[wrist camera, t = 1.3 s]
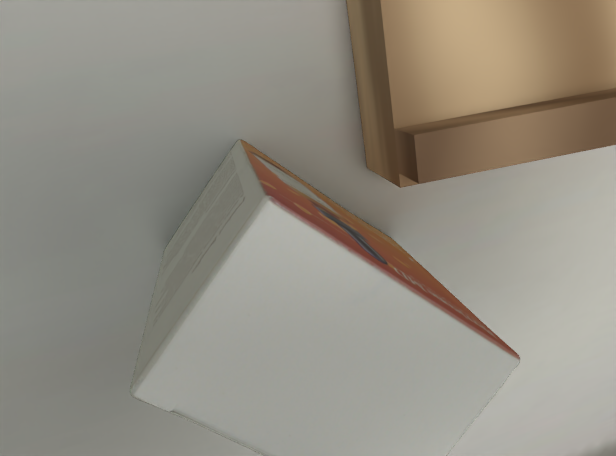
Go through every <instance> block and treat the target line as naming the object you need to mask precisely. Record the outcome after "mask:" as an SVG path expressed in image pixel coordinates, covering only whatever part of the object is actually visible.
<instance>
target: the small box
mask: <svg viewBox="0 0 616 456" xmlns="http://www.w3.org/2000/svg"><path fill="white" fill-rule="evenodd" d="M519 363H520V357H519V355H518V354H517V353H516V352H515V351H514V350H512V349H511V348H510V347H509V346H508V345H507V344H506V343H505V342H503V341H502V340H501V339H500V338H499V337H498V336H497V335H496V334H495V333H493V332H492V331H491V330H490V329H489V328H488V327H487V326H486V325H485V324H484V323H483V322H481V321H480V320H479V319H478V318H477V317H476V316H475V315H474V314H473V313H472V312H471V311H470V310H469V309H468V308H466V307H465V306H464V305H463V304H462V303H461V302H460V301H459V300H458V299H457V298H456V297H455V296H454V295H452V294H451V293H450V292H449V291H448V290H447V289H446V288H445V287H444V286H443V285H442V284H441V283H440V282H439V281H437V280H436V279H435V278H434V277H433V276H432V275H431V274H430V273H429V272H428V271H427V270H426V269H424V268H423V267H422V266H421V265H420V264H419V263H418V262H417V261H416V260H415V259H414V258H413V257H412V256H410V255H409V254H408V253H407V252H406V251H405V250H404V249H403V248H402V247H401V246H399V245H398V244H397V243H396V242H395V241H394V240H393V239H391V238H390V237H388V236H387V235H385V234H384V233H382V232H380V231H379V230H377V229H376V228H374V227H372V226H371V225H369V224H367V223H366V222H364V221H363V220H361V219H359V218H358V217H356V216H355V215H353V214H352V213H350V212H349V211H347V210H346V209H344V208H343V207H341V206H340V205H338V204H337V203H335V202H334V201H332V200H331V199H329V198H328V197H326V196H325V195H323V194H322V193H320V192H319V191H318V190H316V189H315V188H313V187H312V186H310V185H309V184H307V183H306V182H304V181H303V180H301V179H300V178H299V177H297V176H296V175H294V174H293V173H291V172H290V171H288V170H287V169H285V168H284V167H282V166H281V165H279V164H278V163H276V162H275V161H273V160H272V159H270V158H269V157H267V156H266V155H264V154H263V153H262V152H260V151H259V150H257V149H256V148H254V147H253V146H251V145H250V144H248V143H247V142H245V141H243V140H238V141H237V142H236V143H235V145H234V146H233V147H232V149H231V150H230V152H229V153H228V155H227V156H226V158H225V159H224V160H223V162H222V163H221V165H220V166H219V168H218V169H217V171H216V172H215V174H214V175H213V177H212V178H211V180H210V181H209V183H208V184H207V186H206V187H205V189H204V190H203V192H202V193H201V195H200V196H199V198H198V199H197V201H196V202H195V204H194V205H193V207H192V208H191V210H190V211H189V213H188V214H187V216H186V217H185V219H184V220H183V222H182V223H181V225H180V226H179V228H178V229H177V231H176V233H175V234H174V236H173V237H172V239H171V240H170V242H169V244H168V245H167V246H166V248H165V250H164V253H163V258H162V262H161V265H160V269H159V273H158V277H157V282H156V285H155V289H154V293H153V296H152V301H151V305H150V309H149V314H148V317H147V322H146V326H145V330H144V334H143V338H142V342H141V346H140V350H139V354H138V358H137V363H136V366H135V370H134V374H133V379H132V382H131V386H130V393H131V396H132V397H134V398H136V399H138V400H140V401H143V402H146V403H148V404H151V405H153V406H156V407H158V408H160V409H162V410H165V411H168V412H170V413H173V414H175V415H178V416H180V417H182V418H184V419H187V420H189V421H191V422H193V423H196V424H198V425H200V426H202V427H204V428H206V429H209V430H211V431H213V432H215V433H217V434H219V435H221V436H224V437H226V438H228V439H230V440H232V441H235V442H237V443H239V444H241V445H243V446H245V447H248V448H250V449H252V450H253V451H255V452H258V453H260V454H262V455H264V456H447V454H448V453H449V452H450V451H451V449H452V448H453V447H454V446H455V444H456V443H457V442H458V441H459V439H460V438H461V437H462V435H463V434H464V433H465V432H466V430H467V429H468V428H469V427H470V425H471V424H472V423H473V422H474V420H475V419H476V418H477V417H478V415H479V414H480V413H481V412H482V410H483V409H484V408H485V407H486V405H487V404H488V403H489V402H490V400H491V399H492V398H493V397H494V395H495V394H496V393H497V391H498V390H499V389H500V388H501V386H502V385H503V384H504V382H505V381H506V380H507V378H508V377H509V375H510V374H511V373H512V371H513V370H514V369H515V368H516V367H517V366H518V364H519Z"/></svg>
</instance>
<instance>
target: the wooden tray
mask: <svg viewBox="0 0 616 456" xmlns="http://www.w3.org/2000/svg"><path fill="white" fill-rule="evenodd" d="M346 2H347V10H348V18H349V26H350V34H351V42H352V50H353V58H354V66H355V74H356V82H357V90H358V99H359V107H360V115H361V123H362V131H363V139H364V147H365V155H366V163H367V168H368V169H370V170H372V171H373V172H375V173H377V174H379V175H380V176H382V177H384V178H385V179H387V180H389V181H390V182H392V183H394V184H395V185H397V186H399V187H400V188H401V187H406V186H411V185H416V184H421V183H426V182H431V181H436V180H441V179H446V178H451V177H456V176H461V175H466V174H471V173H476V172H481V171H486V170H491V169H496V168H501V167H506V166H511V165H516V164H521V163H526V162H531V161H536V160H541V159H546V158H551V157H556V156H561V155H566V154H571V153H576V152H581V151H586V150H591V149H596V148H601V147H606V146H611V145H616V0H346Z"/></svg>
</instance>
